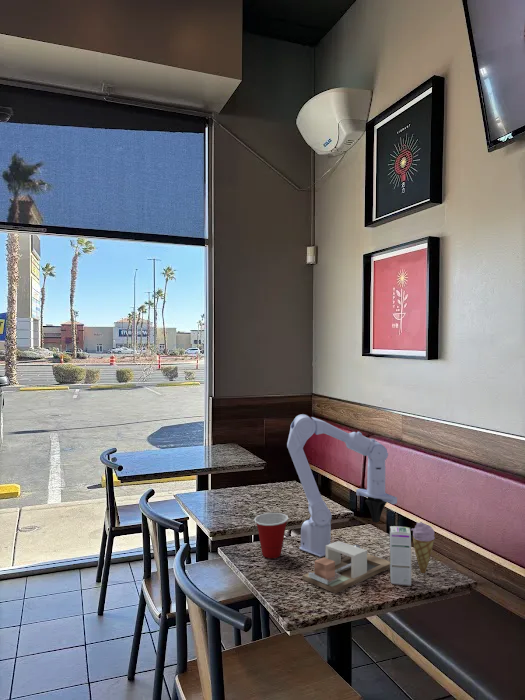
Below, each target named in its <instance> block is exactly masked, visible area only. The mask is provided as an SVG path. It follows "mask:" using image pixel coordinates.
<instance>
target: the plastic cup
mask: <svg viewBox="0 0 525 700" xmlns="http://www.w3.org/2000/svg"><path fill="white" fill-rule="evenodd" d="M288 520H289V516H288V514H284V513H282V512H267V513H266V512H265V513H261V514H259V515H257V516H255V517H254V519H253V521H254V522H255V524H256V528H257V531H258V532H257V533H258V537H259V542H260V543H259V544H260V548H261V554H262V556H263V557H265V558H266V559H277V558H279V557H281V554H282V551H283V545H284V540H285V534H286V527H287V524H288V523H287V522H288Z"/></svg>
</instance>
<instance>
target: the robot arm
mask: <svg viewBox="0 0 525 700" xmlns="http://www.w3.org/2000/svg"><path fill="white" fill-rule="evenodd" d="M314 434H315V435H317V436H319V435H323V434H325V435H328V436H330V437H332V438H333V439H334V438H335V439H336V440H338V441H341V442H344V443H345V446H346V448H347V449H349V450H351V451H354V452H355V453H358V454H359V455H362V456H365V457H367V472H366V473H367V478H366V479H367V480H366V481H367V482H366V483H367V484H366V485H367V486H366V487H367V488H366V489H365V488H357V489H355V490H356V494H355V495H356V496H358V497H359V496H361V497H365V498H367V499H365V504H366V506H367V509H369V513H370V516H371V519H372V520H371V521H372V523H374V524H375V523H379V522H380V521H381V520H380V519H381V516H382V514H383V510H384V508H385V507H386V505H387V503H389V504H391V505H396V504H398V497H397V496H395V495H392V494H389V493H386V460H387V459H388V456H389V453H388V450H387V448H386V446H384V445H383V444H382V443H380V442H379V441H377V440H376V439H374V438H369V437H366V436H365V435H363V433H362V432H360V431H357V432H356V431H352V432H349V433H348V432H346V431H345V430H342V429H340V428H338V427H337V426H334V425H332V424H331V423H329V422H327V421H325V420H322V419H319V418H316V417H314V416H311V417H310V416H309V415H308V414H304V413H302V414H298V415H296V416H295V418H294V419H293V421H292V422H291V424H290V429H289V434H288V438H287V442H286V448H287V449H288V453H289V456H290V457H291V461H292V462H293V465H294V468H295V471H296V474H297V475H298V479H299V481H300V484H301V487H302V489H303V491H304V495H305V497H306V500H307V503H308V508H307V510H308V513H309V515H310V517H309V519H305V520H304V522H302V524H301V527H300V546H299V547H298V549H299V550H301V551H304V552H305V553H309V554H311V555H314V556H316V557H321V558H323V557H324V556H325V548H326V545H328V544H331V543H332V542H331V538H332V537H331V534H332V533H331V532H332V529H331V527H332V526H331V525H332V522H331V520H332V516H333V515H332V512H331V510H330V509H329V508H328V505H327V503H326V502H325V501H324V499H323V497H322V495H321V492H320V491H319V487H318V485H317V482H316V480H315V476H314V475H313V471H312V469H311V466H310V463H309V462H308V459H307V456H306V453H305V451H304V446H305V444H306V443H307V441H308V440H309V439H310V438H311V437H312V436H313V435H314Z"/></svg>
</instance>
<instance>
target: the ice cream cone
mask: <svg viewBox="0 0 525 700" xmlns="http://www.w3.org/2000/svg"><path fill="white" fill-rule="evenodd" d="M411 531H412V543H413V548H414V553H415V557H416V561H417V564H418V568H419V572H420V573H421V574H425V573H426V572H427V568H428V565H429V562H430V559H431V555H432V550H433V547H434V542H435V539H436V538H435V531H434V529H433V528H432V526H431V525H429V524H427V523H424V522H422V521H421V522H416V525H414V528H413V527H412V528H410V532H411Z"/></svg>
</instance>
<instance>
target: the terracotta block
mask: <svg viewBox="0 0 525 700" xmlns="http://www.w3.org/2000/svg"><path fill="white" fill-rule="evenodd" d="M314 570H315V574H316V575H318V576H321V577H323V578H325V579H329V578H331V577H334V576H335V561H332V560H330V559H327V558H325V557H321V558H319V559H316V560H314Z"/></svg>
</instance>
